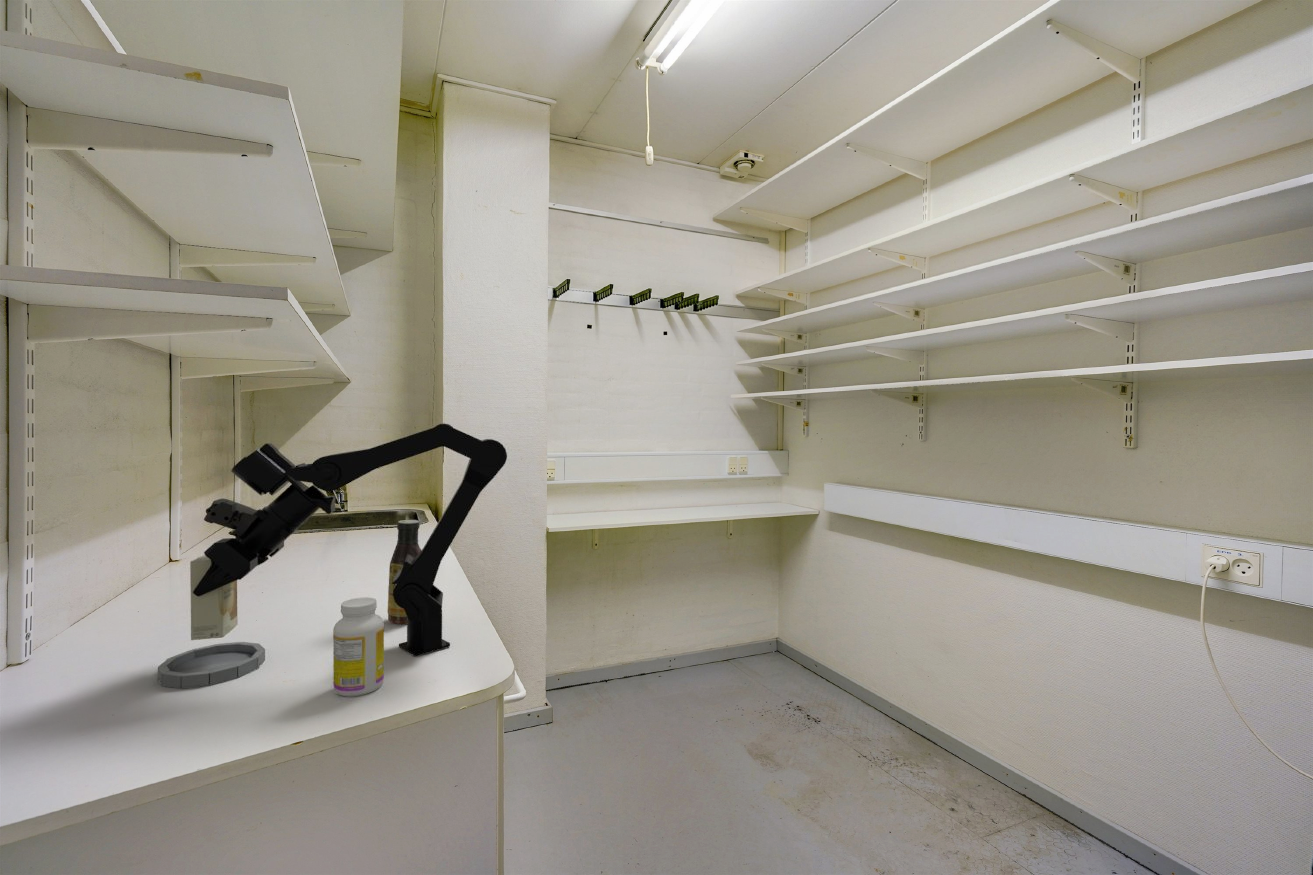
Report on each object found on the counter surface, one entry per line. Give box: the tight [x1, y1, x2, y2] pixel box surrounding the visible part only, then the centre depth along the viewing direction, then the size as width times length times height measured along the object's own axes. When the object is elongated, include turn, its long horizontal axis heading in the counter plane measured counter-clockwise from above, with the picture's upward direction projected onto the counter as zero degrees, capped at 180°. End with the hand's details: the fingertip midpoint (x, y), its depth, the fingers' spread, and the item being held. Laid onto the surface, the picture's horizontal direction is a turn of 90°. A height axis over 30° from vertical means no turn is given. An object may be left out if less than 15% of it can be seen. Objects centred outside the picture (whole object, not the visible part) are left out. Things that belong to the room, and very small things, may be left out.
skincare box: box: [189, 554, 238, 641], centre depth 91 cm, size 6×4×12 cm
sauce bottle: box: [387, 519, 422, 625], centre depth 114 cm, size 6×6×20 cm
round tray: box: [157, 641, 266, 689], centre depth 91 cm, size 13×13×2 cm
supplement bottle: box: [332, 597, 385, 698], centre depth 85 cm, size 7×7×13 cm
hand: (204, 588), depth 90 cm, fingers closed on skincare box, 6 cm apart
